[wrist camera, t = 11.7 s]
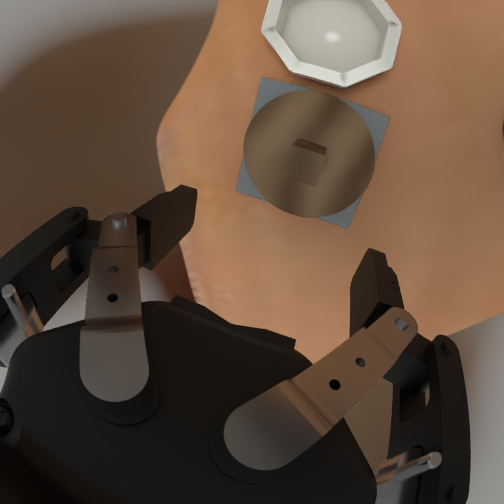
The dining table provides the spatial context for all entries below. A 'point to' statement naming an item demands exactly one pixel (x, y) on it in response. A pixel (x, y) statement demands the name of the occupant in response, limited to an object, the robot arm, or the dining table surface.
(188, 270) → the dining table surface
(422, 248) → the dining table surface
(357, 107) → the mat
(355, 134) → the lid
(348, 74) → the bowl
